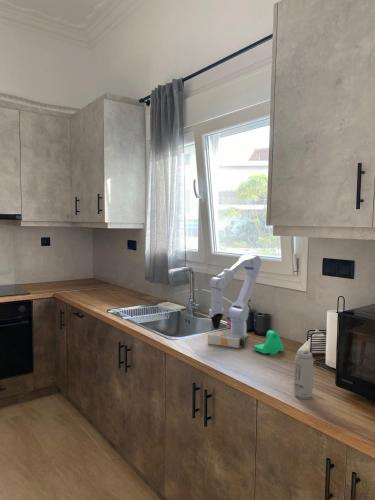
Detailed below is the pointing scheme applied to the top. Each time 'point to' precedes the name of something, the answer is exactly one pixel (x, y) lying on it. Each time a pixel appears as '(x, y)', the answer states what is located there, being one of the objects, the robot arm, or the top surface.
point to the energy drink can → (303, 375)
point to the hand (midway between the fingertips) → (216, 328)
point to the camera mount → (270, 344)
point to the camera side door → (224, 341)
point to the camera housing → (230, 335)
